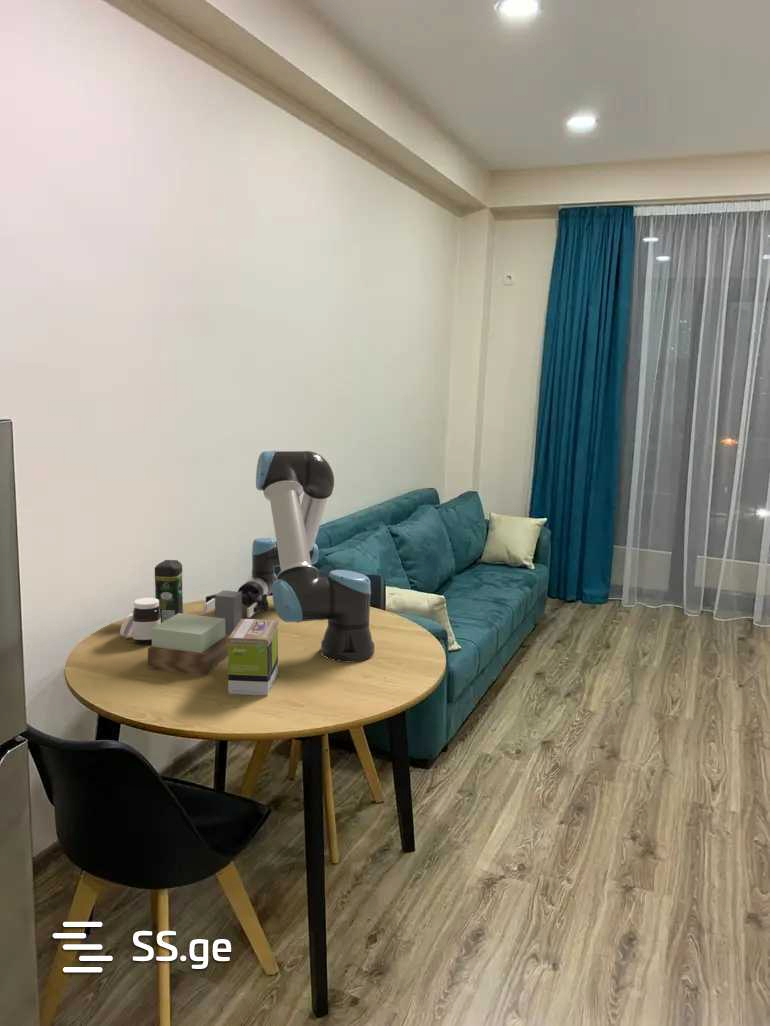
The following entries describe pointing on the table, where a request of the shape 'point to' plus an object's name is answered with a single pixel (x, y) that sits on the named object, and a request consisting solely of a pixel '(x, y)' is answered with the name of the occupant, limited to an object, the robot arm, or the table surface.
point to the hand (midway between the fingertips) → (226, 610)
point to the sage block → (188, 632)
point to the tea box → (253, 657)
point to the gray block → (229, 609)
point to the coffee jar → (169, 588)
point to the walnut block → (188, 658)
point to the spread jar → (142, 620)
